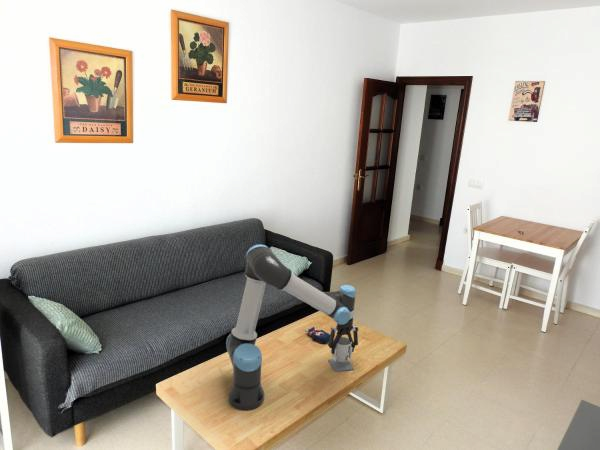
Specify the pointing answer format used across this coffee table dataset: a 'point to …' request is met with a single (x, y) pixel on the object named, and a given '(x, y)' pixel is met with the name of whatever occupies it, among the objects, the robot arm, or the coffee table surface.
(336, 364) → the coaster
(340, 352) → the cup
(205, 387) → the coffee table surface
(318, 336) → the figurine
